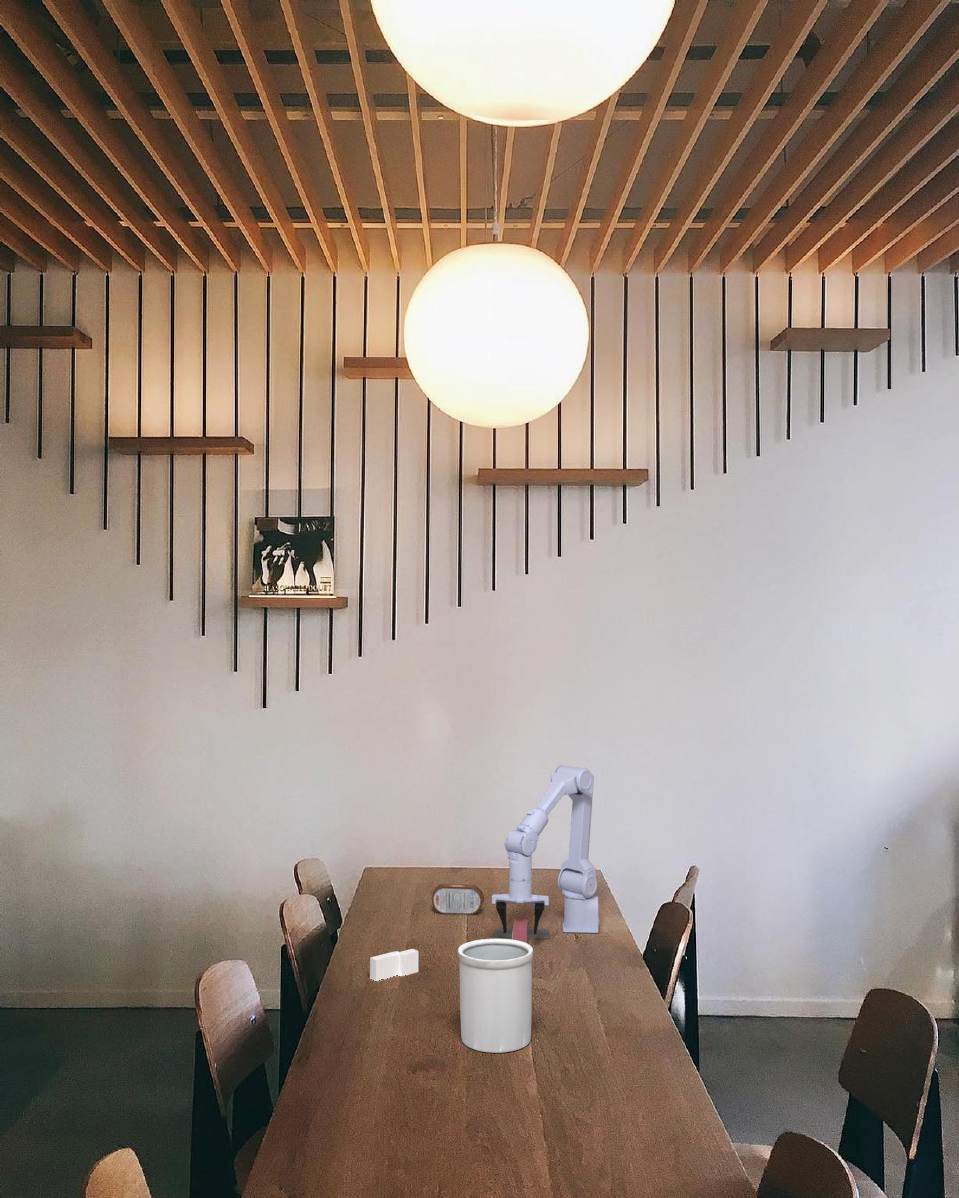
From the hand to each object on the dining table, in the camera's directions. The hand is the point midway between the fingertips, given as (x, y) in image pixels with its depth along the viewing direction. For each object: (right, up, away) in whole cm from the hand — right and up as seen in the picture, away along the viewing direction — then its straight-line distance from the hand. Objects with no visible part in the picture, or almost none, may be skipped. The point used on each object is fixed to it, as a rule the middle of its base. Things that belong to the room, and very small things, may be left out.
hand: (520, 932), depth 249 cm
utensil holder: (-7, -1, -58) cm, 58 cm away
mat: (+1, -4, +11) cm, 12 cm away
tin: (-17, -5, +30) cm, 35 cm away
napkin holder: (-30, -3, -22) cm, 37 cm away
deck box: (0, -4, 0) cm, 4 cm away
